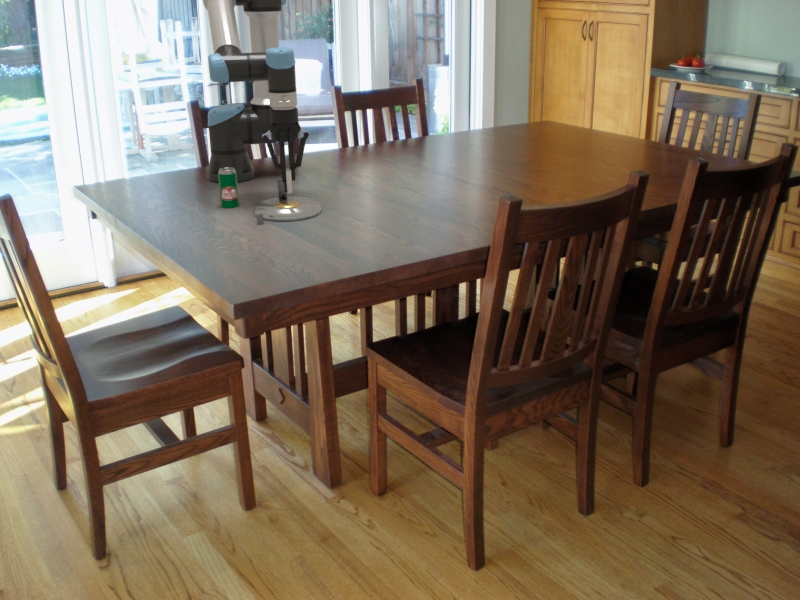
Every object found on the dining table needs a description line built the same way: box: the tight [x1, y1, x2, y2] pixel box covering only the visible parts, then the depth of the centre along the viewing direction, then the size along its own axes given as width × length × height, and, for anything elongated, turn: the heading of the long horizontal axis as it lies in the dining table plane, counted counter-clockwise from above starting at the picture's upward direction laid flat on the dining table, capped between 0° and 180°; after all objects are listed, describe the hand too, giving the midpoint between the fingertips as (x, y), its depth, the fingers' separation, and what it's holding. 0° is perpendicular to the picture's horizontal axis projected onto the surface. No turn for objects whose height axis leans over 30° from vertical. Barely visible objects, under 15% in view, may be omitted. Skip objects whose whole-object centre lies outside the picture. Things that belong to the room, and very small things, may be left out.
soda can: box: [218, 167, 240, 209], centre depth 231 cm, size 5×5×12 cm
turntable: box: [254, 179, 322, 222], centre depth 225 cm, size 18×18×7 cm
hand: (289, 191), depth 232 cm, fingers closed
